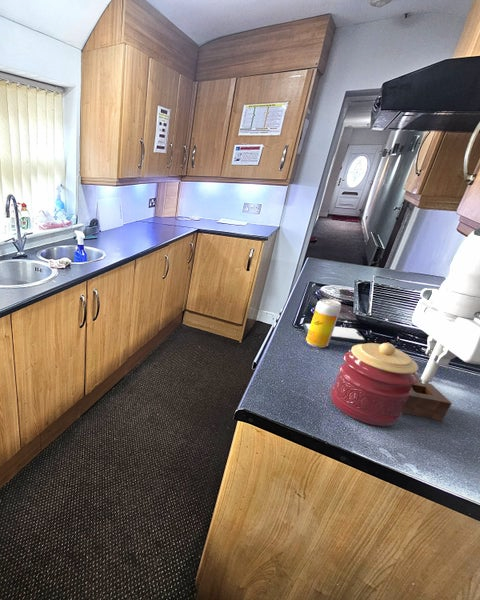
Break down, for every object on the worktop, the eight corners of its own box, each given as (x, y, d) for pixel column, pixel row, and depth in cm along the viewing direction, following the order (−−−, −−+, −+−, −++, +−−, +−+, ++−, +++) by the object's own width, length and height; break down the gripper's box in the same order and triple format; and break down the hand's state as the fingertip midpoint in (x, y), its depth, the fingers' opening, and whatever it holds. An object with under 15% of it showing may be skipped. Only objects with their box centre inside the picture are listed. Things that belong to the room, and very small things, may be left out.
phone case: (308, 338, 111) (365, 345, 106) (309, 333, 110) (367, 340, 105) (301, 326, 119) (354, 332, 114) (302, 322, 118) (356, 328, 113)
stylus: (427, 382, 77) (451, 329, 72) (431, 386, 75) (457, 332, 70) (417, 380, 77) (440, 327, 72) (421, 385, 76) (446, 331, 71)
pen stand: (422, 400, 81) (431, 383, 79) (442, 420, 75) (452, 403, 73) (385, 393, 83) (392, 377, 82) (401, 412, 77) (409, 395, 75)
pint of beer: (305, 337, 110) (318, 296, 104) (327, 342, 107) (342, 300, 101) (304, 345, 106) (318, 303, 100) (327, 350, 103) (342, 307, 97)
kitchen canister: (326, 383, 86) (348, 324, 79) (390, 400, 80) (419, 338, 73) (331, 414, 76) (356, 350, 69) (405, 436, 70) (441, 368, 63)
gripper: (527, 327, 59) (488, 390, 64) (451, 290, 77) (426, 341, 82) (481, 321, 61) (447, 383, 66) (418, 286, 78) (395, 337, 84)
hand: (435, 360), depth 74 cm, fingers closed on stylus, 2 cm apart
